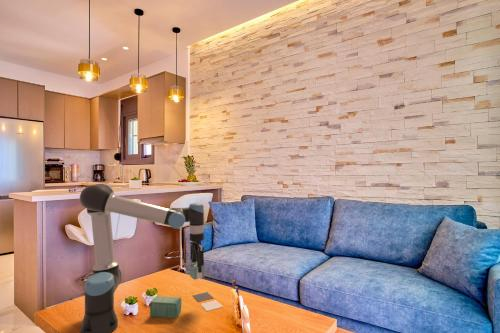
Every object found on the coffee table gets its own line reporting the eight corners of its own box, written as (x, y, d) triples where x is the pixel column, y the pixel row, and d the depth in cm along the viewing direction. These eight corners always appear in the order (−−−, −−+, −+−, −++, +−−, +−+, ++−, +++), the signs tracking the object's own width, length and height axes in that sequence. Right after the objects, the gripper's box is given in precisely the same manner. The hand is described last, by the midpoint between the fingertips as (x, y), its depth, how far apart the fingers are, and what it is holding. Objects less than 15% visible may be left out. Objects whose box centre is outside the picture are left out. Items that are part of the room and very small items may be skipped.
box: (176, 318, 140) (176, 302, 140) (149, 317, 142) (149, 301, 142) (181, 311, 148) (181, 296, 148) (156, 310, 149) (156, 295, 149)
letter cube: (194, 279, 151) (193, 267, 150) (190, 276, 156) (189, 264, 155) (205, 276, 154) (204, 264, 154) (201, 272, 159) (199, 261, 159)
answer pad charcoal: (198, 302, 157) (198, 301, 157) (192, 296, 165) (192, 295, 165) (213, 298, 162) (213, 297, 162) (207, 292, 169) (207, 292, 169)
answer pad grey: (206, 311, 147) (206, 310, 147) (200, 304, 154) (200, 303, 154) (222, 307, 151) (222, 306, 151) (215, 300, 159) (215, 299, 159)
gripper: (210, 235, 149) (210, 280, 148) (196, 228, 165) (197, 269, 165) (196, 237, 145) (196, 283, 144) (184, 230, 161) (184, 272, 161)
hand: (196, 276), depth 155 cm, fingers closed on letter cube, 6 cm apart
